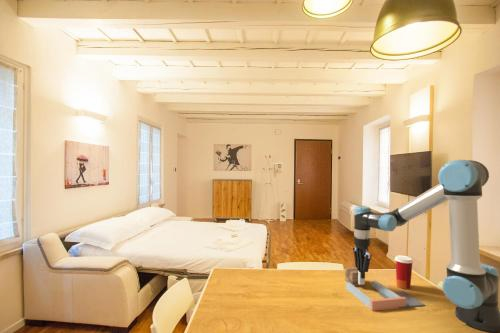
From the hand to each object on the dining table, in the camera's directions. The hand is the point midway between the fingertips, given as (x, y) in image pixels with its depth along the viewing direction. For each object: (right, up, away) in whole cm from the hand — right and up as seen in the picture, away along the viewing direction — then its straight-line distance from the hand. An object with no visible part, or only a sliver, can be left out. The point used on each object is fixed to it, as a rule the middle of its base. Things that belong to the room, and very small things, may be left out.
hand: (361, 283), depth 140 cm
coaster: (+14, -2, -12) cm, 18 cm away
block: (-1, -2, +6) cm, 6 cm away
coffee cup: (+22, -3, +2) cm, 22 cm away
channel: (+2, -2, -9) cm, 10 cm away
